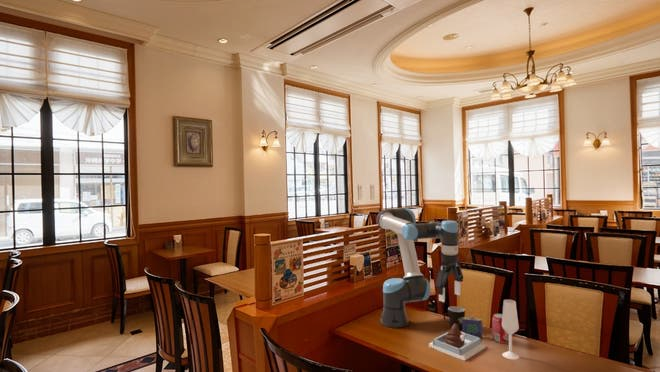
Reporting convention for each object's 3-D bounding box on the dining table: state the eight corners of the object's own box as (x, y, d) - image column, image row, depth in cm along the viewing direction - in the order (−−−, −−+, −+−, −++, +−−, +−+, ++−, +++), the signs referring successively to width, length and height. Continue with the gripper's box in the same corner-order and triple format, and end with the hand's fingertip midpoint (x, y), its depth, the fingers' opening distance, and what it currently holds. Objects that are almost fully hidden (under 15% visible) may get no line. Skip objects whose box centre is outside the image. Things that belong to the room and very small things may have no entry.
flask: (482, 336, 177) (481, 315, 177) (483, 339, 174) (482, 317, 174) (462, 334, 180) (461, 313, 179) (462, 337, 177) (462, 315, 177)
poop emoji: (447, 338, 172) (446, 319, 172) (466, 341, 169) (465, 321, 169) (444, 347, 163) (443, 326, 163) (464, 350, 160) (463, 329, 159)
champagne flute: (516, 352, 159) (515, 299, 159) (521, 360, 153) (520, 304, 153) (500, 351, 161) (499, 298, 161) (504, 358, 154) (503, 303, 154)
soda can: (508, 338, 174) (507, 314, 174) (508, 344, 168) (508, 319, 168) (492, 336, 177) (492, 312, 177) (492, 342, 171) (491, 317, 170)
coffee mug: (463, 325, 192) (462, 306, 192) (467, 331, 183) (467, 312, 183) (440, 324, 193) (440, 306, 193) (444, 331, 184) (444, 311, 184)
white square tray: (428, 346, 167) (428, 338, 167) (450, 335, 179) (450, 327, 179) (464, 360, 153) (464, 351, 153) (485, 348, 165) (485, 339, 165)
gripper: (441, 259, 158) (442, 306, 159) (470, 250, 174) (470, 293, 175) (427, 256, 164) (427, 301, 165) (456, 248, 180) (456, 290, 181)
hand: (449, 297), depth 170 cm, fingers open, 13 cm apart
